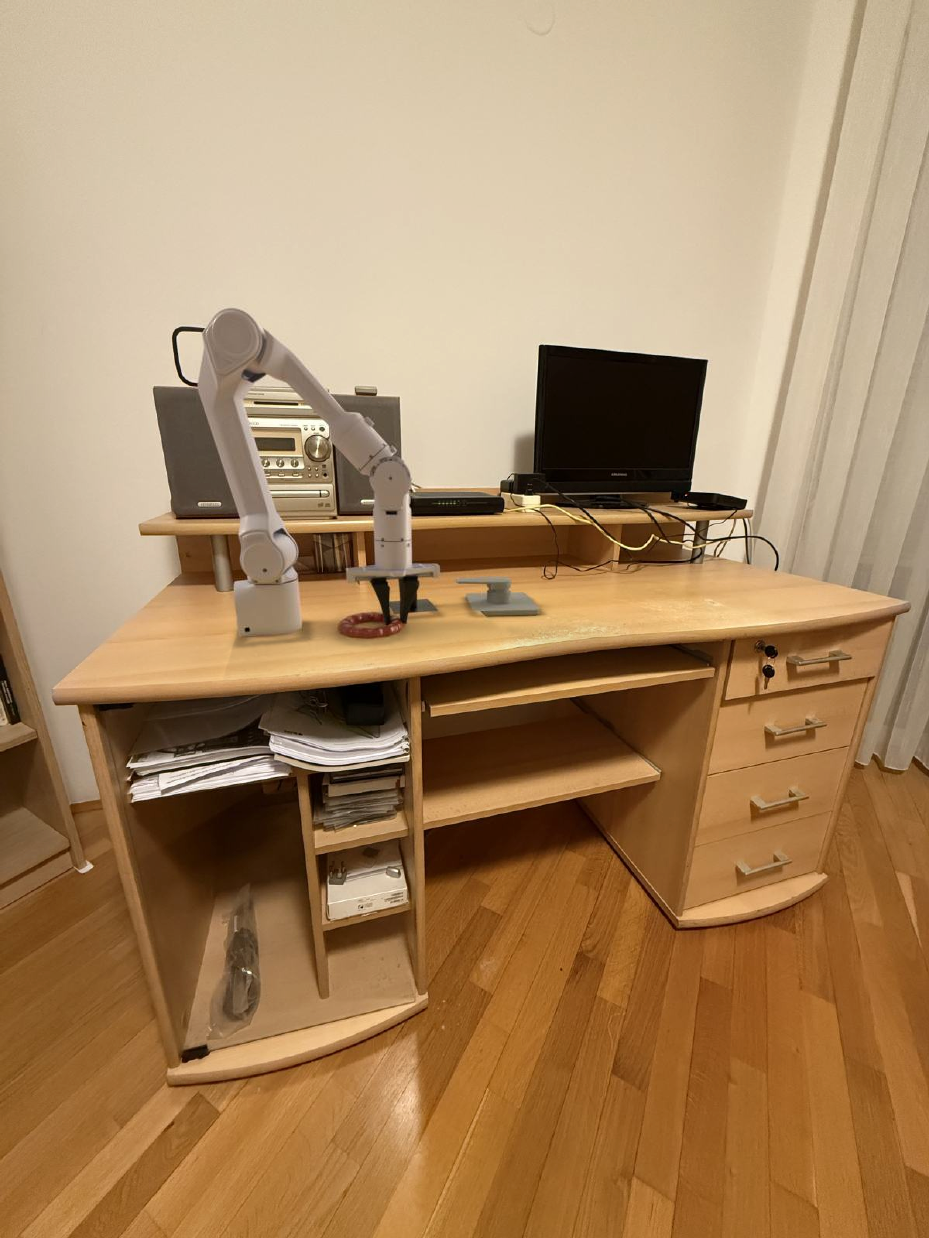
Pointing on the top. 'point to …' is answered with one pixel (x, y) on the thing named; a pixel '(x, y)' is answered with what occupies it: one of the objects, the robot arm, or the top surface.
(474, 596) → the shower valve
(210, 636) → the top surface
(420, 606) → the peg stand
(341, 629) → the ring
